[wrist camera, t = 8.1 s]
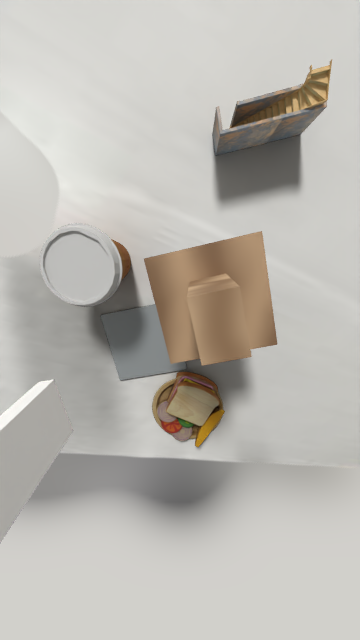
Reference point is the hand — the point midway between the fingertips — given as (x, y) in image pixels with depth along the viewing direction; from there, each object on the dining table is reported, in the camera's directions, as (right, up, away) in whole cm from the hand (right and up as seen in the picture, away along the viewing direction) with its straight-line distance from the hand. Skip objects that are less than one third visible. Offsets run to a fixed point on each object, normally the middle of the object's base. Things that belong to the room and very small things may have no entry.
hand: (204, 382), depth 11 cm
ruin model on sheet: (+9, +28, +24) cm, 38 cm away
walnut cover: (+2, +5, +15) cm, 16 cm away
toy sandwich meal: (0, -12, +36) cm, 38 cm away
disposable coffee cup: (-12, +12, +30) cm, 34 cm away
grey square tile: (-7, -1, +33) cm, 33 cm away
